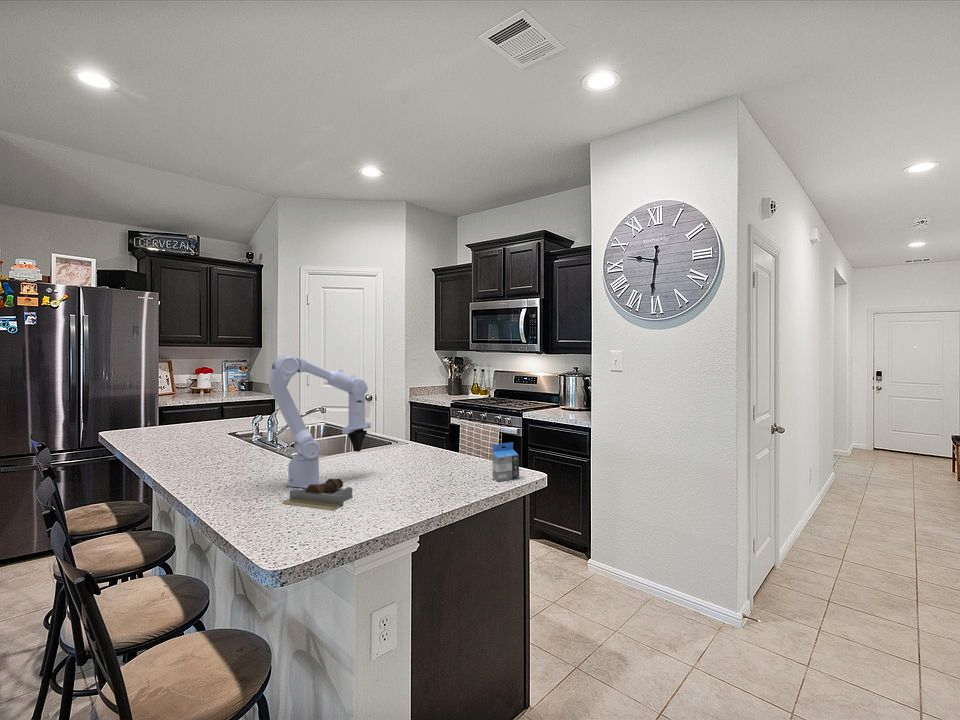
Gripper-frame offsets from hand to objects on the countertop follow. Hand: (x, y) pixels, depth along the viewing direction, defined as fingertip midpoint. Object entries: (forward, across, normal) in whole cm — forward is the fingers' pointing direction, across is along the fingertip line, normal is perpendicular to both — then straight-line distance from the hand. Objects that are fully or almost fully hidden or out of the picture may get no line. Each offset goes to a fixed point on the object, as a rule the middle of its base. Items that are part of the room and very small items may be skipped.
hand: (357, 451), depth 178 cm
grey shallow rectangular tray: (+9, -27, -6) cm, 29 cm away
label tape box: (+10, +16, -50) cm, 53 cm away
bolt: (+10, -21, -4) cm, 24 cm away
